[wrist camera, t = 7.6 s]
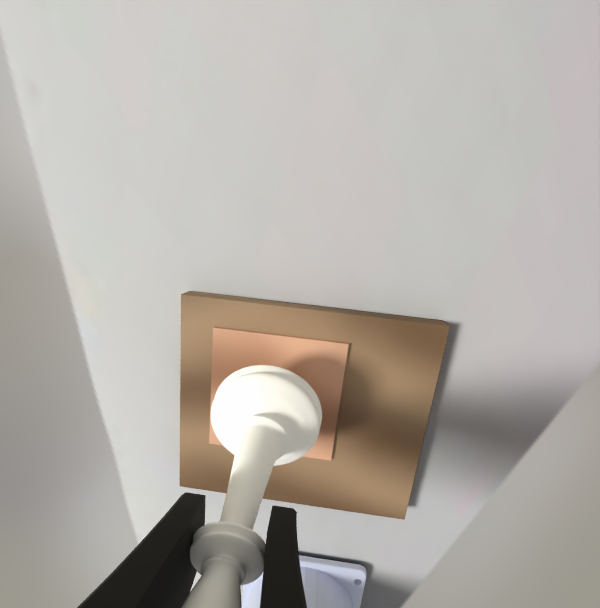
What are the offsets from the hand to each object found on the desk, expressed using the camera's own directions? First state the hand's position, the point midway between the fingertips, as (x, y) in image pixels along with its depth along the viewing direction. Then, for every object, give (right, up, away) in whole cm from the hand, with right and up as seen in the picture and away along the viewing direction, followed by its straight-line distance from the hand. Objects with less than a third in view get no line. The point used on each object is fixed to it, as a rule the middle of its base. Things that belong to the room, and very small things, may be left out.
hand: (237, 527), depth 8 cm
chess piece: (0, +2, +5) cm, 5 cm away
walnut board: (+2, +1, +8) cm, 9 cm away
